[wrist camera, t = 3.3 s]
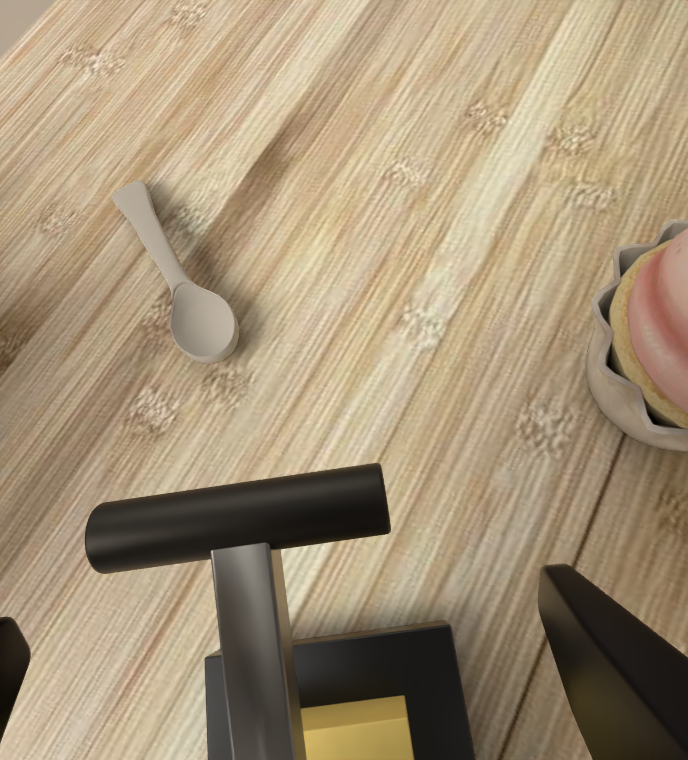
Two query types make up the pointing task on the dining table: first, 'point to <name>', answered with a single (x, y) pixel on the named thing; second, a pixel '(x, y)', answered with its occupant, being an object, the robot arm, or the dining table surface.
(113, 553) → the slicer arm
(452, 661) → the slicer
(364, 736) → the butter
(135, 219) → the spoon
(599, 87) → the dining table surface
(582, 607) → the robot arm
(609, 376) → the cupcake
